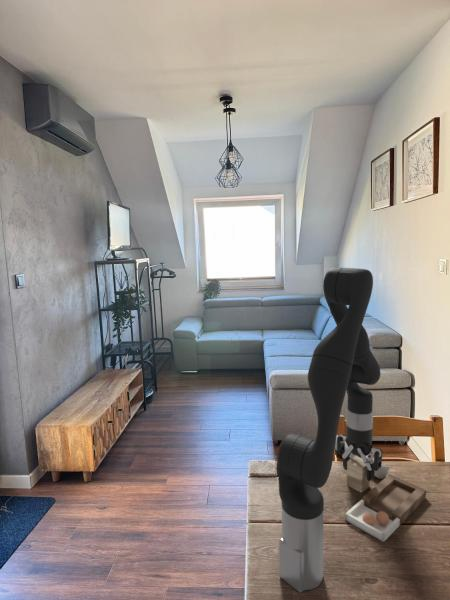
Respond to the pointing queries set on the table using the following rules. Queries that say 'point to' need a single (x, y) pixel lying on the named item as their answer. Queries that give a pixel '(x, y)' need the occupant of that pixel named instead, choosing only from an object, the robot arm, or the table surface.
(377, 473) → the tube
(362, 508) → the tray
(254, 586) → the table surface
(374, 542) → the table surface
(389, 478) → the slot board
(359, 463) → the block
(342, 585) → the table surface
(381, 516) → the ball
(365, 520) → the ball
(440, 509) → the table surface
